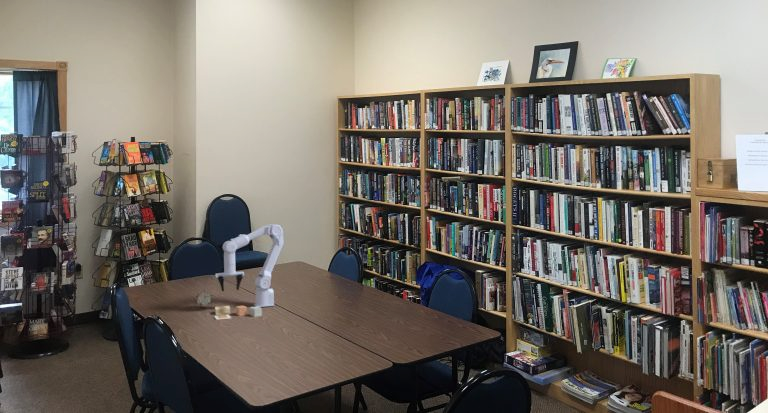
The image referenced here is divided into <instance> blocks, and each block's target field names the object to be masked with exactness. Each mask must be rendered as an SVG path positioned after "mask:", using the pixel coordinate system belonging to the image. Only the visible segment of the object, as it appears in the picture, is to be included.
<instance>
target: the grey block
mask: <svg viewBox="0 0 768 413" xmlns="http://www.w3.org/2000/svg"><path fill="white" fill-rule="evenodd" d="M262 309H263V308H262V307H257V306H249V316H252V317H254V318H256V317H261V316H263V310H262Z"/></svg>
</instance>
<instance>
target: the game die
mask: <svg viewBox="0 0 768 413" xmlns="http://www.w3.org/2000/svg"><path fill="white" fill-rule="evenodd" d="M212 296H213V294H210V293H208V292H205V291H202V292H201V293H199V294H198V293H197V295H196V302H195V304H196V305H197V304H198V305H200V306H201V307H203V308H204V309H205V308H206V307H207V306H208V305H211V303H213V301H212Z"/></svg>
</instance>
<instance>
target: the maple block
mask: <svg viewBox="0 0 768 413" xmlns="http://www.w3.org/2000/svg"><path fill="white" fill-rule="evenodd" d="M214 313H215V316H219V315H230V314H231V306H230V305H221V306H215V307H214Z"/></svg>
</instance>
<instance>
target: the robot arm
mask: <svg viewBox="0 0 768 413" xmlns="http://www.w3.org/2000/svg"><path fill="white" fill-rule="evenodd" d="M264 235H265V236H268V237H270V239H271V241H272V244H271V248H270V250H269V252H268V255H267V256H266V260H265V261H264V263H263V267H262V269H261V270H260V271H259V272H258V274H257V275H256V276H255V278H254V280H253V284H254V286H256V287H255V288H254V289H255V290H254V291H255V303H253V306H254V307H256V306H257V307H261V308H262V307H263V308H265V307H274V306H275V294H274V293H275V292H274V289H273V288H270V287H271V281H272V280H271V279H272V272H273V271H274V270H273V269H274V267H275V265H276V262H277V260H278V258H279V255H280V253H281V250H282V248H283V247H284V242H285V241H284V230H283V228H282V227H281V225H280V224H274V223H269V224H266V225H263V226H261V227H260V228H257V229H255V230H254V231H252V232H250V233H248V234H241V233H240V234H239V235H237V237H235V238H231V239H230V240H227V241H225V242H224V243H223V244H222V246H221V248H222V250H223V267H224V268H223V269H224V270H223V272H218V273H215V278H217V281H218V282H219V286H220V288H221V291H222V292H224V291H225V287H224V282H225V279H224V278H227V277H236V278H235V279H236V291H239V290H240V289H239V288H240V286H241V283H242V280H243V276H245V272H244V271H237V270H236V251H237V250H238V249H240V248H243V247H245V246H248V244H250V241H252V240H255V239H257V238H258V237H261V236H264Z"/></svg>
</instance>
